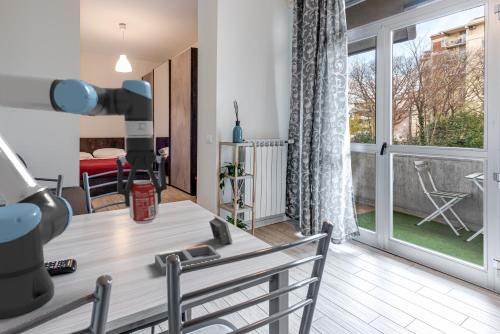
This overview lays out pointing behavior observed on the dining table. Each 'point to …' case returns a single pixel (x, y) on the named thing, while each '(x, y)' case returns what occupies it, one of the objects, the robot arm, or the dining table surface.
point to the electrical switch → (220, 230)
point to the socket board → (187, 256)
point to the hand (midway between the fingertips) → (144, 215)
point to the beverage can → (143, 201)
